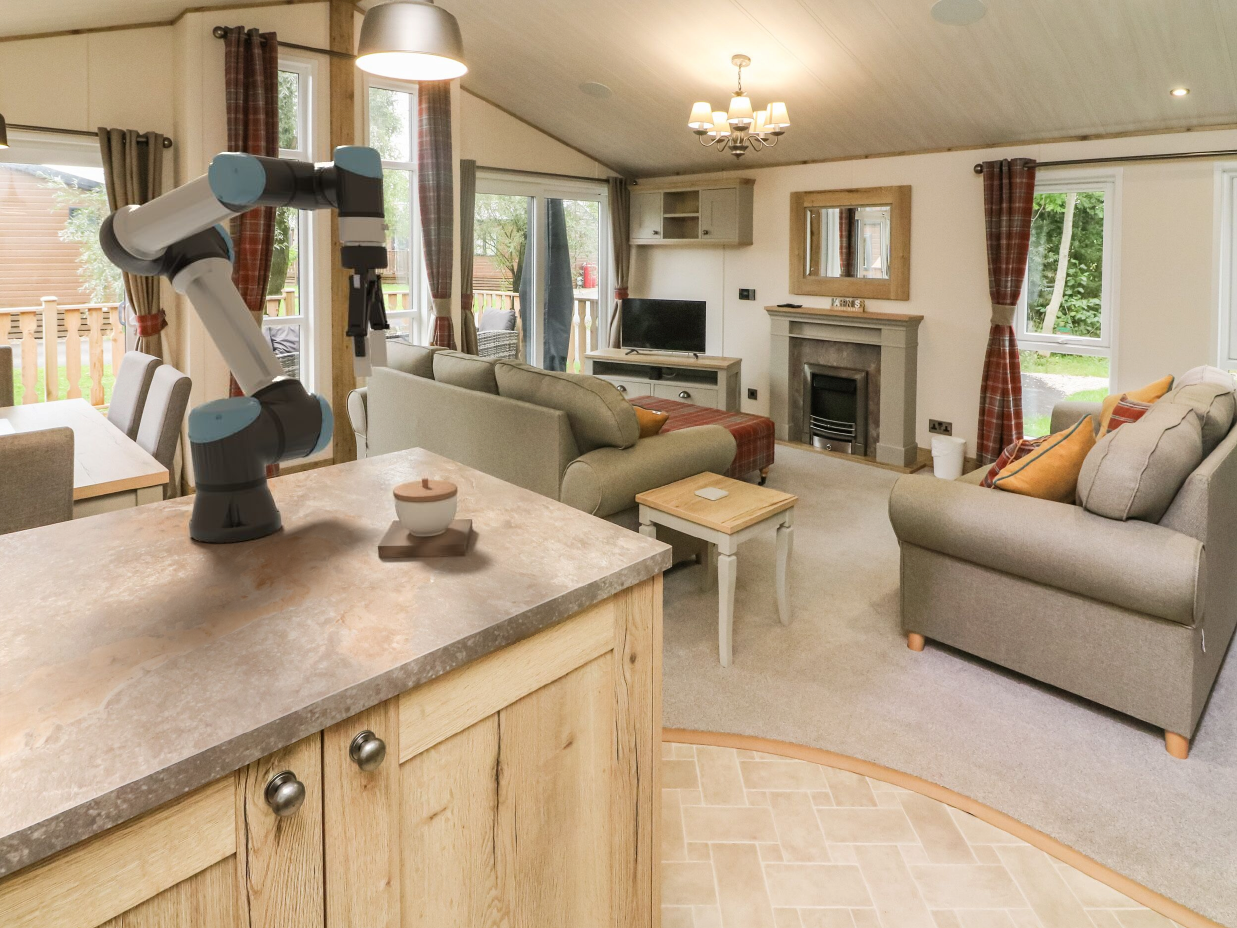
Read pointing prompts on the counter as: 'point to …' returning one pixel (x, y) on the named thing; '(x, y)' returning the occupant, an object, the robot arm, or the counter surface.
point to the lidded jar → (426, 506)
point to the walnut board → (426, 541)
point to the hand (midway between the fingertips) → (371, 371)
